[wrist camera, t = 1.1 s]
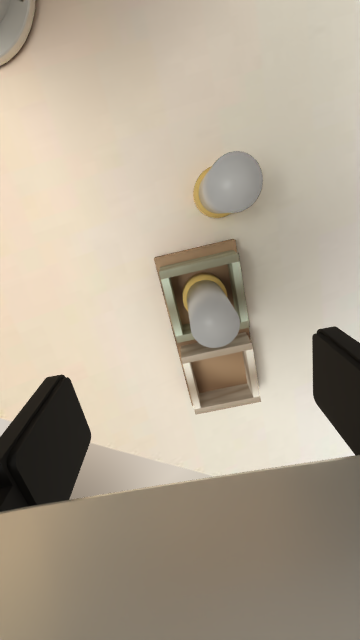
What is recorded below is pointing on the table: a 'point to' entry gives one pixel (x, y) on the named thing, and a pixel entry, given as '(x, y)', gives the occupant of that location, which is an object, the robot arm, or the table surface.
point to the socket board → (200, 361)
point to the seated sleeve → (210, 311)
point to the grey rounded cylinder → (228, 185)
